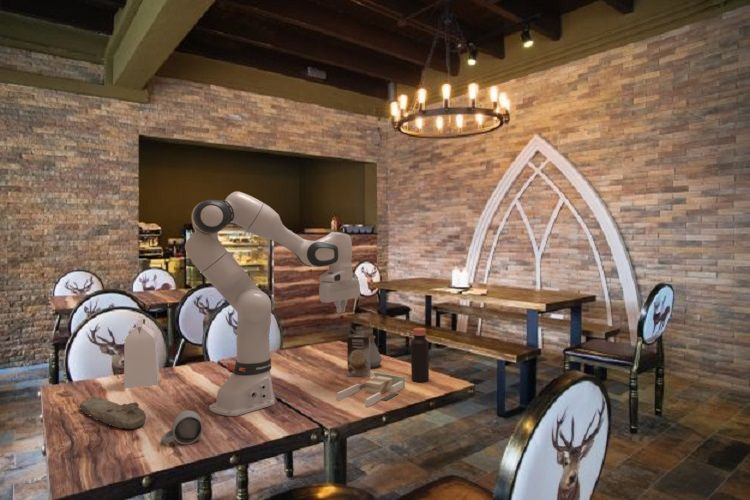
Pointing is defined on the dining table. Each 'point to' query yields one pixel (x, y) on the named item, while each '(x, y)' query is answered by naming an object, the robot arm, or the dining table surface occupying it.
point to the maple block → (378, 385)
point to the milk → (140, 357)
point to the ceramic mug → (184, 429)
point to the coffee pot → (372, 351)
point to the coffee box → (358, 355)
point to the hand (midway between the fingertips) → (340, 312)
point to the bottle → (419, 356)
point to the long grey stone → (114, 413)
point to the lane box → (397, 385)
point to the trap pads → (384, 397)
